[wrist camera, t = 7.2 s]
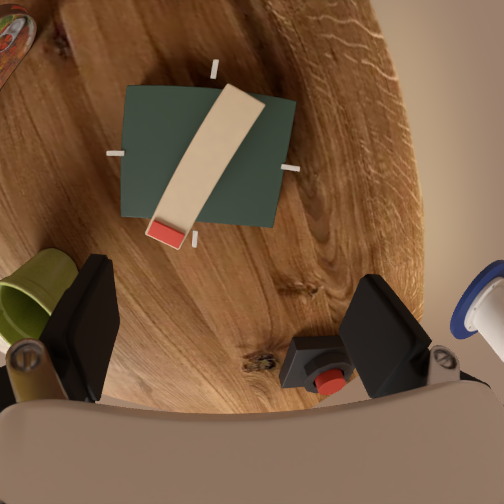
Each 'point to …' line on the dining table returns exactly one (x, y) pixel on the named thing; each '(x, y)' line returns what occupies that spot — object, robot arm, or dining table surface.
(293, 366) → the control block
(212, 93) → the dial base
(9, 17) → the tin
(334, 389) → the button
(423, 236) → the dining table surface
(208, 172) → the beige rectangular block
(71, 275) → the plant pot
